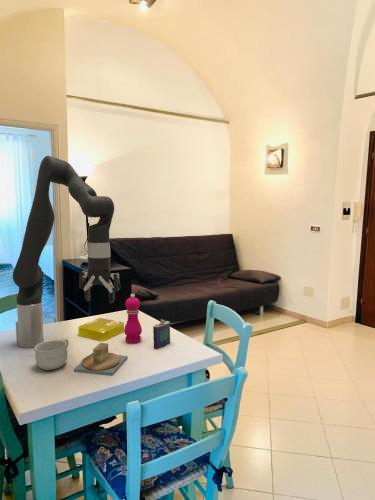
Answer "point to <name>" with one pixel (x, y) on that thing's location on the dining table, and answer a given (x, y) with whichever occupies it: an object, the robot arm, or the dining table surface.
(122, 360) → the mat
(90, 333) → the element tile
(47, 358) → the teacup
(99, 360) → the lid
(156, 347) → the flask
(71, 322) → the dining table surface
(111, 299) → the robot arm
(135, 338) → the pepper mill
